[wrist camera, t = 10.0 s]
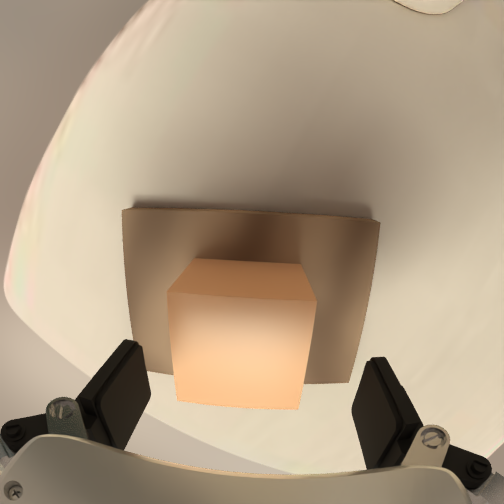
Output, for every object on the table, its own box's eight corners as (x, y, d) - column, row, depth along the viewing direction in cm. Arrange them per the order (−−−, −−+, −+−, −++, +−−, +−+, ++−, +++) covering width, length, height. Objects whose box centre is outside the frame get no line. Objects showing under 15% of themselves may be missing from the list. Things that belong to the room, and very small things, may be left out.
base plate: (371, 219, 18) (406, 233, 13) (344, 371, 21) (360, 413, 16) (131, 207, 18) (93, 217, 13) (145, 358, 21) (121, 397, 16)
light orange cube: (300, 264, 17) (317, 300, 12) (290, 353, 19) (297, 409, 13) (194, 258, 17) (166, 291, 12) (196, 347, 19) (177, 400, 14)
